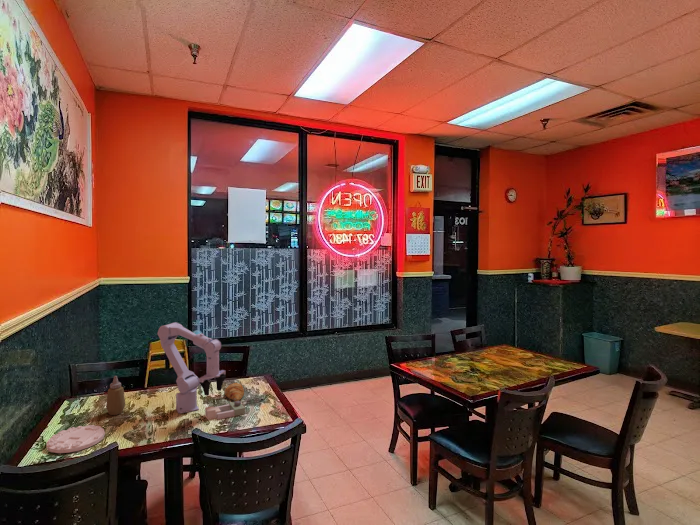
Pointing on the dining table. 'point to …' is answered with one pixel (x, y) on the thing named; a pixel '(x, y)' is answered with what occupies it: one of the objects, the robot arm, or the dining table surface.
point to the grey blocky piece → (231, 410)
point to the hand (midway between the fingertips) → (212, 392)
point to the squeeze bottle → (115, 398)
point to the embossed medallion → (75, 439)
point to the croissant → (234, 391)
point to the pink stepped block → (211, 412)
